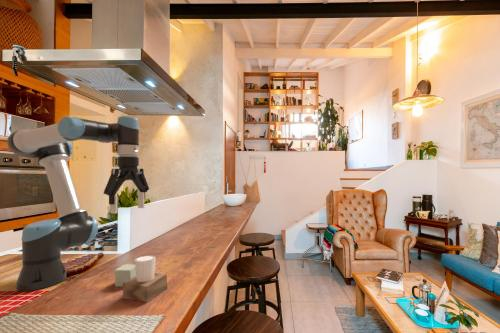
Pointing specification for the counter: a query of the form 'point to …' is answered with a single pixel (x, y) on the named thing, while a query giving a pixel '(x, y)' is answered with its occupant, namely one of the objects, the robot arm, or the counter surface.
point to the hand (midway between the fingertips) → (128, 210)
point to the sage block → (124, 274)
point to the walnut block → (144, 288)
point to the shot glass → (145, 268)
